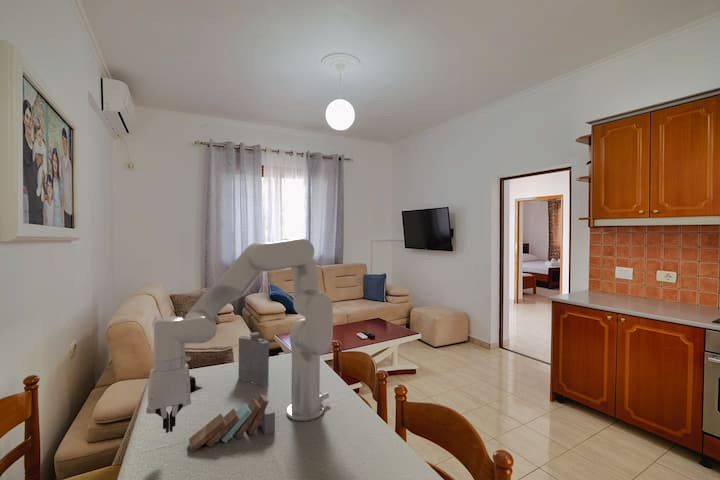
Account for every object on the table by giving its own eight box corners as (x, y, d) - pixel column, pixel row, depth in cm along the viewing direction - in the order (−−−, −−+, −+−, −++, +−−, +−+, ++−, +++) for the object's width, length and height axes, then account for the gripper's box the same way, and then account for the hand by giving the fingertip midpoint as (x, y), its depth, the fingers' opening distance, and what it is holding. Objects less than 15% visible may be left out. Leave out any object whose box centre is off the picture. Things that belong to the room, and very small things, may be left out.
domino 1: (191, 442, 98) (223, 417, 102) (193, 452, 94) (226, 425, 98) (188, 438, 98) (220, 413, 102) (190, 448, 93) (223, 421, 98)
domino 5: (250, 426, 107) (264, 395, 109) (253, 434, 102) (268, 401, 104) (245, 425, 106) (259, 394, 108) (249, 433, 101) (264, 400, 104)
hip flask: (236, 379, 143) (237, 331, 143) (244, 375, 146) (244, 329, 146) (264, 387, 135) (264, 337, 135) (271, 383, 138) (272, 334, 138)
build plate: (170, 389, 134) (170, 377, 134) (187, 382, 140) (187, 371, 140) (191, 396, 128) (191, 384, 128) (207, 389, 134) (207, 377, 134)
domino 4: (236, 430, 104) (256, 400, 108) (240, 438, 100) (261, 407, 103) (232, 428, 104) (252, 398, 107) (235, 436, 99) (256, 404, 103)
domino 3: (223, 434, 102) (247, 405, 106) (225, 443, 98) (251, 412, 102) (219, 431, 102) (244, 402, 105) (221, 440, 98) (247, 409, 101)
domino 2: (207, 438, 100) (236, 411, 104) (210, 447, 96) (239, 419, 100) (204, 435, 100) (233, 408, 104) (206, 443, 95) (236, 415, 100)
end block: (267, 419, 111) (267, 401, 111) (274, 431, 104) (275, 412, 104) (258, 422, 109) (258, 403, 109) (265, 434, 102) (265, 414, 102)
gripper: (198, 354, 100) (197, 416, 100) (137, 363, 92) (137, 431, 92) (201, 362, 93) (200, 429, 94) (136, 373, 86) (135, 445, 86)
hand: (169, 429), depth 93 cm, fingers closed
